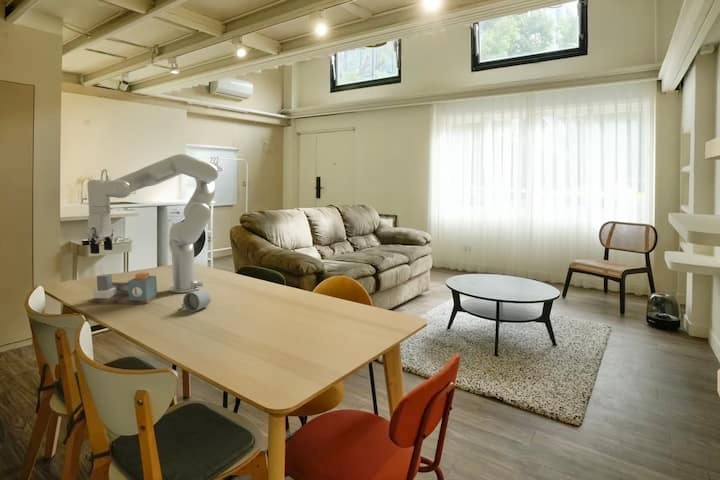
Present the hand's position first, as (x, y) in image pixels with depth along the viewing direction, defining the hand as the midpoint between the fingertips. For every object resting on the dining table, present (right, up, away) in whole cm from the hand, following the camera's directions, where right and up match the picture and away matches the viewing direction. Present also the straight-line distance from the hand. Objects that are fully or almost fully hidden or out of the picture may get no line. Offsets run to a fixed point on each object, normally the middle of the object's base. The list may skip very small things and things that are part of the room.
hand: (101, 251), depth 176 cm
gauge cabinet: (+15, -19, +3) cm, 25 cm away
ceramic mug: (+41, -23, -7) cm, 47 cm away
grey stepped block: (0, -19, +3) cm, 19 cm away
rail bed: (+8, -21, +3) cm, 22 cm away
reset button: (+16, -12, +3) cm, 20 cm away
